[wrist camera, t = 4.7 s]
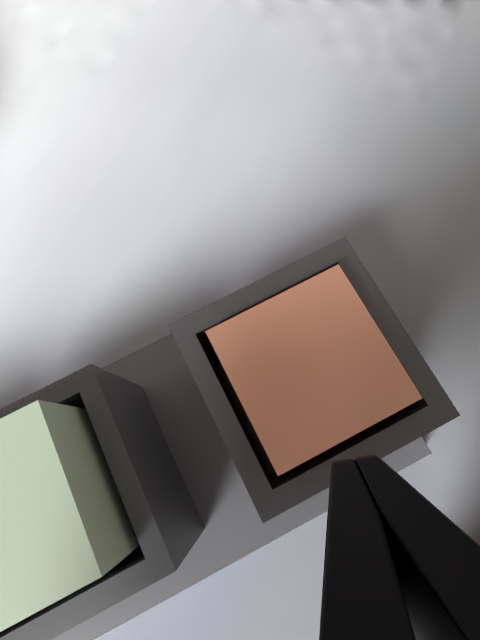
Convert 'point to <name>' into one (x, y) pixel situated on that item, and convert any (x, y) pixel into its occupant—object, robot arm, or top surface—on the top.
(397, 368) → the terracotta button
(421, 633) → the robot arm
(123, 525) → the sage button
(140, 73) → the top surface
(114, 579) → the button console
